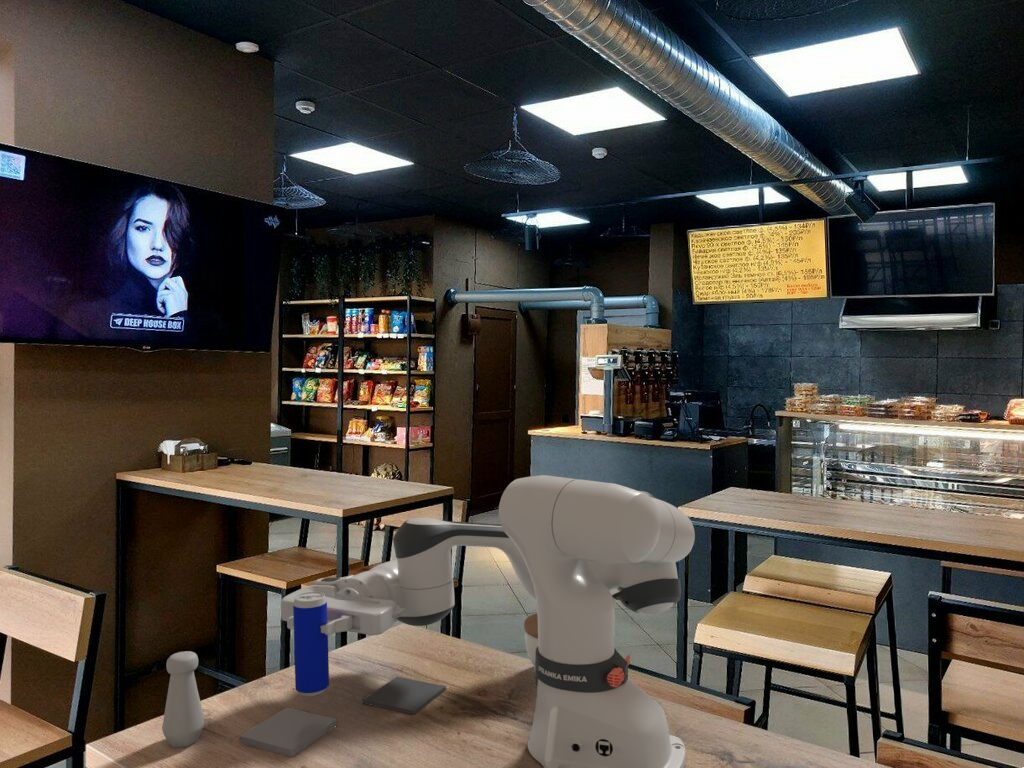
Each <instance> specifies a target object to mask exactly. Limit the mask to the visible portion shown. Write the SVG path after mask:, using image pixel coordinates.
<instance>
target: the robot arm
mask: <svg viewBox="0 0 1024 768" xmlns="http://www.w3.org/2000/svg"><path fill="white" fill-rule="evenodd" d="M498 518H499V523H500V524H499V523H485V522H483V523H482V522H469V521H467V522H466V521H453V520H444V519H438V518H437V519H436V518H433V517H414V518H411V519H407V520H405V521H404V522H403V523H402V524H401V525H400V526H399V527H398V529H397V530H396V532H395V534H394V536H393V538H392V540H393V541H392V543H393V548H394V553H395V558H396V559H393V560H389V561H385V562H382V563H380V564H378V565H376V566H374V567H372V568H370V569H369V570H366V571H361V572H360V573H359V572H358V573H357V574H355V575H354V574H351V575H347V576H343V577H341V576H340V577H323V578H322V577H321V578H318V579H316V580H315V582H314V584H312V585H308V586H304V587H302V588H300V589H297V590H296V591H293V592H290V593H289V594H287V595H285V596H284V597H282V599H281V602H280V617H281V620H282V621H285V622H286V627H287V629H288V630H294V618H293V603H294V599H295V597H296V596H297V595H300V594H303V593H307V592H321V593H323V594H324V595H325V597H326V600H327V621H325V622H323V623H322V624H321V625H320V628H321V631H320V633H321V634H323V635H328V637H329V636H332V635H333V634H335V633H342V632H343V633H344V632H350V633H356V634H362V635H367V636H377V635H383V634H384V633H385V632H387V631H388V630H390V628H392V627H393V626H394V625H395V624H396V622H397V621H399V622H400V623H403V624H405V625H409V626H412V627H414V626H415V627H425V626H428V625H429V626H430V625H432V624H435V623H438V622H440V621H442V620H443V619H444V618H446V616H448V615H449V614H450V613H451V612H452V610H453V608H455V588H454V587H455V586H454V578H453V568H452V565H453V564H452V556H451V555H452V552H451V551H452V548H453V547H454V546H461V547H462V546H464V547H478V548H479V547H481V548H482V547H483V548H493V549H494V548H495V549H498V550H501V552H503V553H504V554H505V556H506V557H507V559H508V561H509V562H510V564H511V567H512V569H513V570H514V573H515V575H516V577H517V578H518V581H519V582H520V585H522V588H523V589H524V590H525V592H526V593H527V594H528V595H529V596H530V597H531V598H533V599H534V600H535V602H536V614H537V617H538V647H537V648H536V653H535V666H534V677H535V685H536V686H537V687H536V699H535V706H534V707H535V709H534V714H533V721H532V725H531V729H530V733H529V736H528V741H527V750H528V752H529V753H530V755H531V756H532V757H533V758H534V759H535V760H536V761H537V762H538V763H540V764H541V765H542V767H543V768H685V765H686V760H687V754H686V753H687V752H686V747H685V744H684V742H683V740H682V738H681V737H680V738H679V737H677V736H675V735H672V734H670V730H669V724H668V723H669V722H668V718H667V715H666V712H665V711H664V709H663V707H662V706H661V704H659V703H658V702H657V701H655V699H654V698H652V697H651V696H650V695H649V694H648V693H646V691H644V690H643V689H641V688H640V687H639V686H638V685H637V684H636V683H635V682H634V681H633V680H632V679H631V678H629V665H630V664H631V661H630V660H631V658H630V657H631V655H630V654H627V655H626V657H625V658H624V656H622V655H621V654H620V653H619V652H618V651H617V649H616V648H615V646H616V645H615V641H616V640H615V601H614V600H616V601H620V602H621V604H622V605H623V606H624V607H625V608H626V609H628V610H629V611H632V612H634V613H637V614H639V613H640V614H644V615H656V614H657V615H658V614H661V613H663V612H665V611H668V610H669V609H670V608H672V607H673V606H675V605H676V604H677V603H678V602H679V601H680V600H681V598H682V596H681V595H682V587H681V580H680V578H679V577H678V570H677V565H676V563H677V562H680V561H682V560H684V558H685V557H687V556H688V555H689V554H690V552H692V549H693V546H694V544H695V538H696V534H695V533H696V531H695V528H694V525H693V523H692V521H691V519H690V517H688V515H687V514H686V513H684V511H682V510H680V509H679V508H678V507H676V506H675V505H673V504H671V503H670V502H666V501H664V500H661V499H658V498H656V497H655V496H654V495H653V494H651V493H650V492H647V491H643V490H636V489H633V488H631V487H627V486H624V485H621V484H618V483H614V482H612V483H611V482H603V481H596V480H589V479H579V478H570V477H562V476H561V477H560V476H554V475H546V474H542V475H541V474H540V475H534V476H532V475H531V476H525V477H520V478H516V479H514V480H513V481H511V482H510V483H509V484H508V485H507V487H506V488H505V489H504V491H503V493H502V494H501V497H500V501H499V504H498ZM613 590H614V591H615V590H617V592H615V593H613V594H611V592H612V591H613Z"/></svg>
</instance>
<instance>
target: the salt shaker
mask: <svg viewBox="0 0 1024 768" xmlns="http://www.w3.org/2000/svg"><path fill="white" fill-rule="evenodd" d="M198 666H199V657H198V654H197V653H196V652H194V651H191V650H189V651H188V650H187V651H177V652H175V653H173V654H171V655H170V656H169V657H168V658H167V660H166V667H165V669H166V671H167V673H168V674H170V677H169V683H168V688H167V695H166V702H165V707H164V713H163V714H164V715H163V721H162V726H161V729H162V734H163V736H164V737H165V739H166V741H167V744H168V745H170V746H171V747H172V748H173V749H175V748H176V749H177V748H187V747H190V746H191V745H193V744H195V743H197V742H198V741H199V739H200V735H201V733H202V731H203V728H204V727H205V724H206V723H205V722H206V719H205V715H204V711H203V706H202V703H201V698H200V694H199V690H198V685H197V680H196V677H195V670H196V669H197V668H198Z"/></svg>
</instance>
